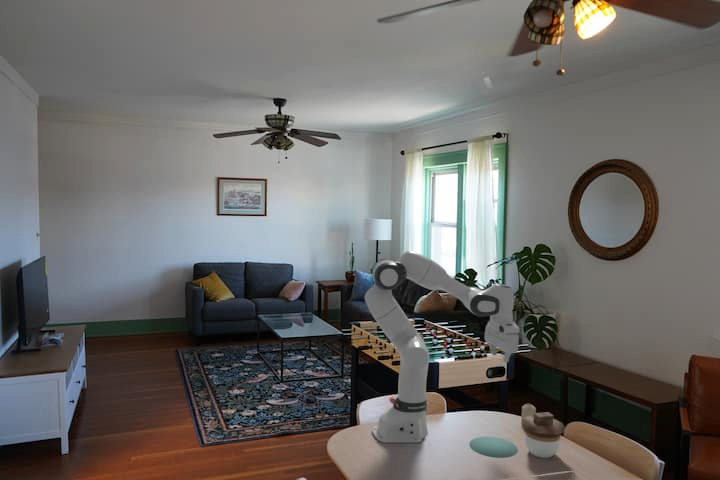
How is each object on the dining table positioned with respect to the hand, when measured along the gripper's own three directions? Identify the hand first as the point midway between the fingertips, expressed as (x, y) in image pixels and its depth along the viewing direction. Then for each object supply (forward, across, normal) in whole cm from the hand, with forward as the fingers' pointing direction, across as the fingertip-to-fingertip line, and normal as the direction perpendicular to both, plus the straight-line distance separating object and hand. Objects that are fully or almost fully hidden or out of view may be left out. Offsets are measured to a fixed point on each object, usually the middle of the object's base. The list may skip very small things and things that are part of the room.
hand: (499, 358), depth 225 cm
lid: (+20, +21, +7) cm, 30 cm away
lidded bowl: (+31, +21, +7) cm, 38 cm away
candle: (+31, -2, +16) cm, 35 cm away
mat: (+31, +12, -8) cm, 34 cm away
